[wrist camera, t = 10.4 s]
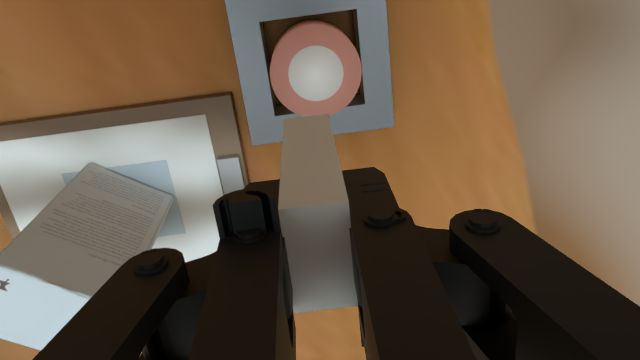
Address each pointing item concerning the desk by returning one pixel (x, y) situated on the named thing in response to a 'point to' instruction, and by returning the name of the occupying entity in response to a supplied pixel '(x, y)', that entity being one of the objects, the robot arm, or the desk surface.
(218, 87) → the desk surface
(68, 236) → the skincare box
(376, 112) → the button base
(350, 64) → the button
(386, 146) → the desk surface
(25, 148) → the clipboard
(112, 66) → the desk surface
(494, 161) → the desk surface
